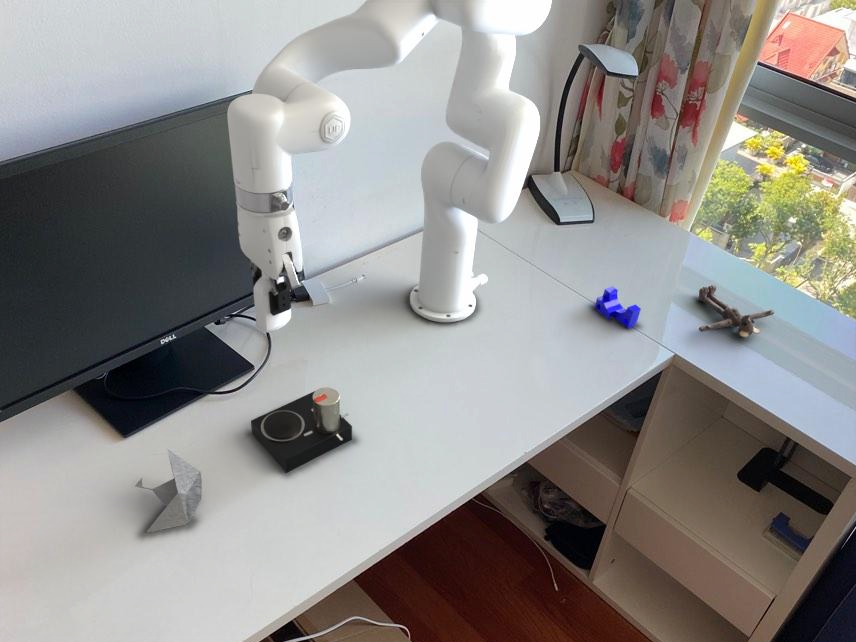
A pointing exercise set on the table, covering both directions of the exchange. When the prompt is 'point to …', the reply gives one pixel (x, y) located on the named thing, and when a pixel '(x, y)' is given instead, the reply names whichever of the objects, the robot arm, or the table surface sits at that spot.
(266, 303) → the eye dropper bottle
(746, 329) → the brown monkey figure
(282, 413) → the burner
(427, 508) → the table surface
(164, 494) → the origami crane
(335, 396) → the knob
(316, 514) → the table surface
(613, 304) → the cable holder
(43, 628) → the table surface
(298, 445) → the hot plate
